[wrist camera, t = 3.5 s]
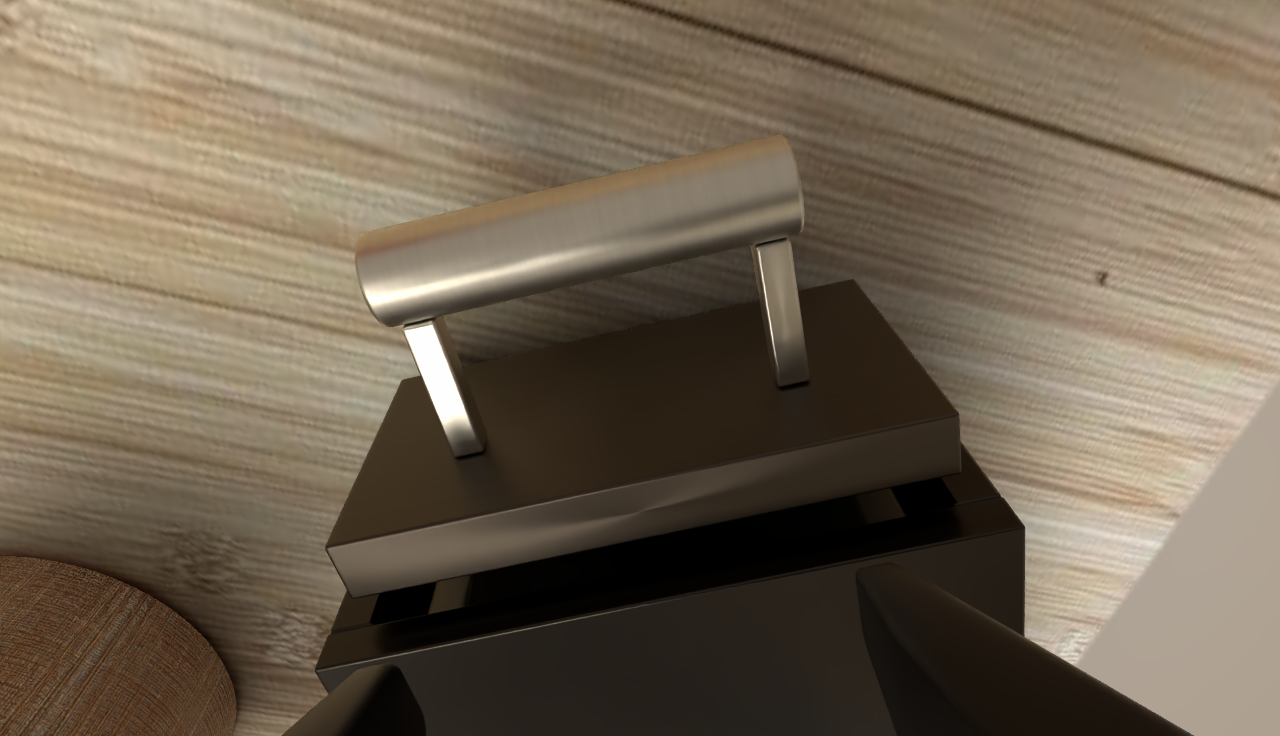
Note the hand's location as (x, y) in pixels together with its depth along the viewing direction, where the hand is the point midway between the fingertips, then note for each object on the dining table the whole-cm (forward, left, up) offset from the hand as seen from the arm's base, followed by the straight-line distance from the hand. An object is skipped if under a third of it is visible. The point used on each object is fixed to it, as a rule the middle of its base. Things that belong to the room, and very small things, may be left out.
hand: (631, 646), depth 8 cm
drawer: (0, +5, -10) cm, 11 cm away
